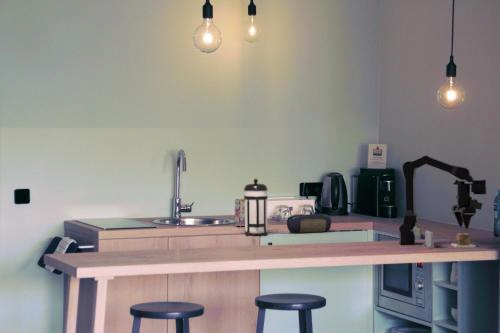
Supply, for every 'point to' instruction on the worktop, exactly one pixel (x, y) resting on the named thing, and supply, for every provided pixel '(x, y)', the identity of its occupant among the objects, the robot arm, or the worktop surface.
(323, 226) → the portable speaker
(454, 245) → the coaster
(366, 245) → the worktop surface
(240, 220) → the candy bar box
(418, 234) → the beverage carton
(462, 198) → the robot arm
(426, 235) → the screen
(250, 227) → the coffee press
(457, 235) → the letter cube
